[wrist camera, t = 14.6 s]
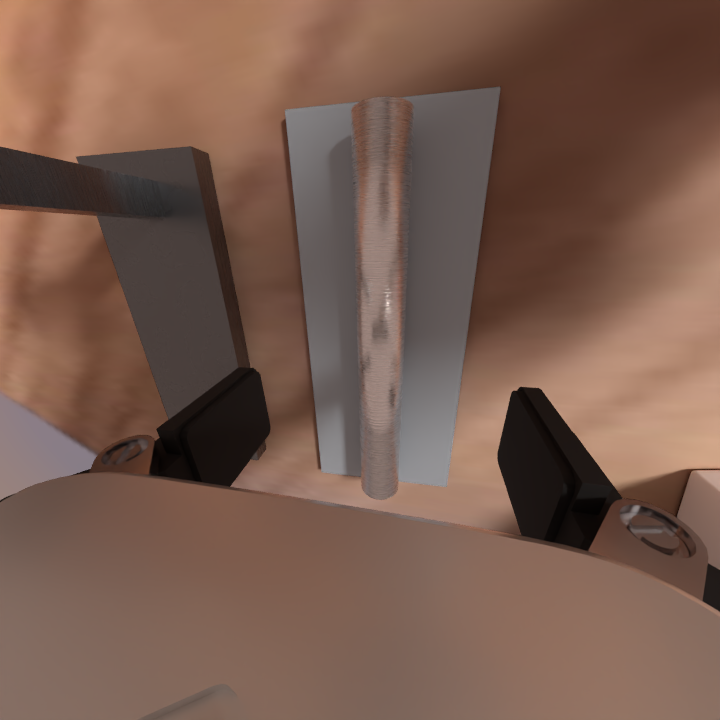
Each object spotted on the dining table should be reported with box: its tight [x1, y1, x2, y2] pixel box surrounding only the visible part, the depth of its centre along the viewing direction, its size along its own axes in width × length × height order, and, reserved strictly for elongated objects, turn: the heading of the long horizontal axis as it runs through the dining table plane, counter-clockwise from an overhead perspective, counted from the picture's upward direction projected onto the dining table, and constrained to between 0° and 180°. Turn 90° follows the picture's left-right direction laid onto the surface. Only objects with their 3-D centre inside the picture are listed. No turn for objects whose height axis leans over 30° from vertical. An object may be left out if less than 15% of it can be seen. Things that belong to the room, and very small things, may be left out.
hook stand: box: [0, 147, 266, 460], centre depth 16 cm, size 23×8×16 cm, turn 1°
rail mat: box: [285, 87, 501, 487], centre depth 20 cm, size 26×11×1 cm, turn 1°
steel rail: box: [351, 97, 414, 500], centre depth 18 cm, size 24×3×3 cm, turn 2°
